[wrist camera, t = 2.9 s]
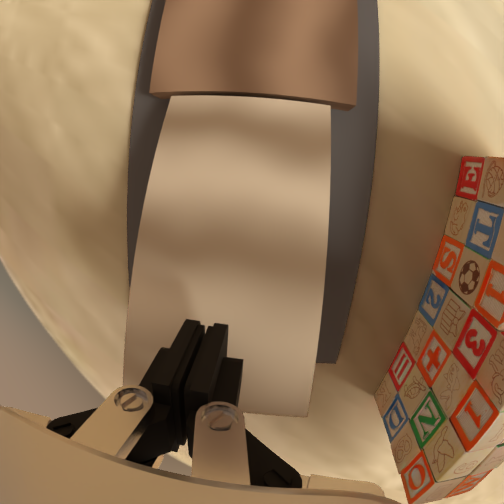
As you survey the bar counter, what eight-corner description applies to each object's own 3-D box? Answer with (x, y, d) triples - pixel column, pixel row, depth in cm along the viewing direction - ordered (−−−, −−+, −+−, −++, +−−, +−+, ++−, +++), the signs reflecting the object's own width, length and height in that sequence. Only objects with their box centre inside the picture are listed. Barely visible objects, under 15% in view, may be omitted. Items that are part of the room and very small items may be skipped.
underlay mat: (372, -28, 13) (374, -31, 13) (334, 359, 22) (335, 363, 22) (166, -38, 14) (164, -41, 14) (136, 335, 23) (134, 338, 22)
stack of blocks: (459, 153, 17) (589, 161, 5) (510, 180, 17) (623, 207, 5) (372, 396, 23) (407, 509, 11) (425, 398, 23) (470, 493, 11)
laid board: (348, -37, 13) (353, -50, 11) (348, 111, 17) (356, 105, 15) (188, -44, 14) (181, -57, 12) (161, 98, 17) (149, 92, 15)
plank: (179, 114, 17) (171, 95, 15) (324, 124, 17) (330, 105, 15) (137, 379, 15) (122, 388, 13) (301, 403, 14) (307, 417, 12)
